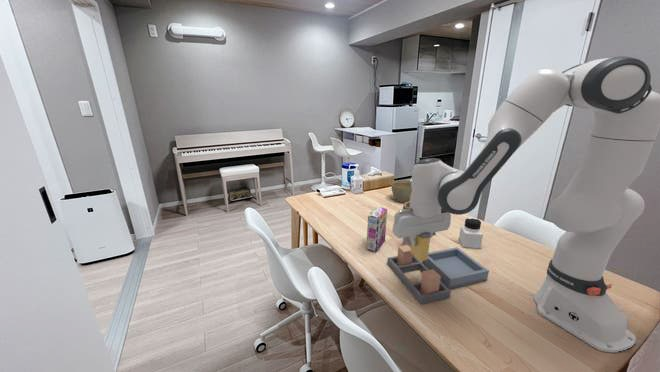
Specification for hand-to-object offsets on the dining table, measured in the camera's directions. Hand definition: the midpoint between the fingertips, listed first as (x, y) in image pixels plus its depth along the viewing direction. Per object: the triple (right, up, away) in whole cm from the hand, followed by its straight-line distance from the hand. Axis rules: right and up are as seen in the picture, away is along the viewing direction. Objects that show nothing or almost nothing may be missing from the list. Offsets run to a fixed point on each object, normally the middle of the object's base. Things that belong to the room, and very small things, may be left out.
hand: (419, 244), depth 91 cm
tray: (+16, -12, +9) cm, 22 cm away
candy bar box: (-10, -7, +27) cm, 30 cm away
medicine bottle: (+31, -6, +27) cm, 41 cm away
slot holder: (0, -14, +5) cm, 15 cm away
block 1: (-2, -11, +12) cm, 17 cm away
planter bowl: (+15, +11, +77) cm, 79 cm away
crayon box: (+4, -7, +25) cm, 26 cm away
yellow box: (0, -4, +1) cm, 5 cm away
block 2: (+2, -16, -2) cm, 17 cm away
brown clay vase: (+11, -2, +38) cm, 40 cm away
